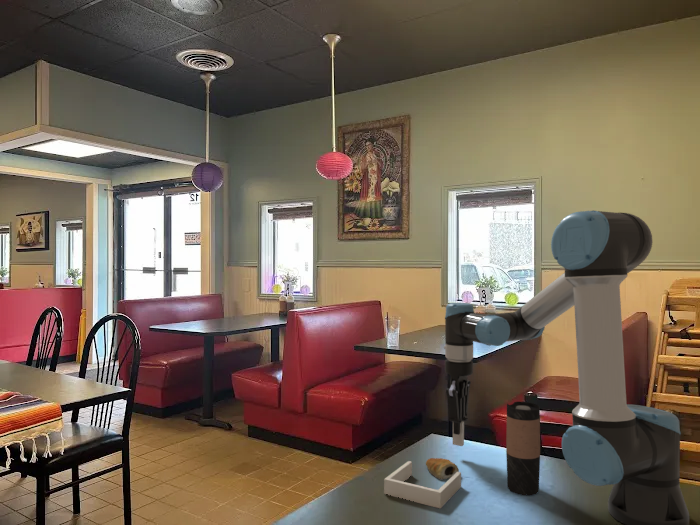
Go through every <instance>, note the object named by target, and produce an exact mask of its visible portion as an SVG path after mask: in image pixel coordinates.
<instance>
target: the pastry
mask: <svg viewBox="0 0 700 525" xmlns="http://www.w3.org/2000/svg"><path fill="white" fill-rule="evenodd" d="M425 466H426V468H427V469H428V471H429V473H430V474H431V475H432V476H433V477H435V478H436V479H438V480H447V479H448V480H449V479H450V478H451V477H452V476H453V475H454V474H455V473H456V472H460V471H459V470H460V469H459V467H458V465H456V464H455V463H454V462H452V460H449V459H446V458H439V457H436V458H435V457H431V458H428V459H427V460H426V462H425Z"/></svg>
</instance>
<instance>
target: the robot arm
mask: <svg viewBox="0 0 700 525" xmlns="http://www.w3.org/2000/svg"><path fill="white" fill-rule="evenodd" d="M550 245H551V246H550V247H551V248H550V249H551V253H552V256H553V258H554V260H556V263H557V264H558V265H560V266H561V267H562V268H563V269H564V273H562V274H561V275H559V276H558V277H557V278H556V279H555V280H553V281H552V282H550V283H549V284H548V285H547V286H546V287H545V288H543V289H541V291H539V292H538V293H537V294H536V295H534V296H533V297H532V298H531V299H529V300H528V301H527V302H525V303H524V304H523V305H522V306H520V307H519V308H518V309H516V310H515V311H513V312H501V313H478V312H475V310H474V305H473V304H472V303H469V302H450V303H448V304H446V306H445V316H444V323H445V324H444V325H445V329H444V330H445V336H444V338H445V345H443V349H444V350H445V358H446V359H445V360H444V372H445V373H446V375H449V376H450V380H449V388H446V390H445V392H446V397H447V404H448V405H447V406H448V417H449V419H448V420H449V422H452V445H453V446H457V447H463V446H464V445H465V421H466V422H467V421H468V417H467V416H468V408H469V397H470V388H471V385H472V384H471V382H472V381H471V380H469V379H468V377H470V376H471V375H473V373H474V362H473V359H474V342H475V343H479V344H483V345H486V346H489V347H490V346H493V347H499V346H503V344H505V343H506V342H513V341H516V342H517V341H530V340H533V339H536V338H537V339H538V338H539V337H541V336H542V335H543V332H544V331H545V329H546V326H548V325H549V324H550V323H551V322H553V321H554V320H556V319H557V318H559V317H560V316H561V315H563V314H564V313H566V312H567V311H569V310H570V309H571V308H572V307H574V319H575V320H574V321H575V339H576V357H577V359H576V361H577V376H578V394H579V403H578V404H577V405H576V406H575V407H574V408H573V409H572V411H571V413H572V426H569V427H568V428H567V429H566V431H565V432H564V433H563V435H562V438H561V450H562V455H563V457H564V460H565V461H566V462H565V463H567V465H568V467H569V468H570V469H572V471H573V473H574V475H576V476H577V477H578V478H579V479H580V480H582V481H584V482H585V483H587V484H589V485H593V486H597V487H598V486H600V487H602V486H608V485H612V489H611V490H610V493H609V496H608V500H607V509H608V510H607V511H608V513H609V514H610V515H611V517H613V518H614V519H615V520H616V521H618V522H620V523H622V524H623V525H690V513H689V510H688V506H687V503H686V502H685V498H684V495H683V492H682V488H681V486H680V472H681V471H680V470H681V469H680V466H681V465H680V464H681V463H680V462H681V461H680V460H681V457H680V456H681V435H682V432H681V429H680V428H681V427H680V420H679V418H678V417H677V415H676V414H673V413H672V412H670V411H667V410H664V409H660V408H659V409H658V408H655V407H651V406H645V405H639V404H629V403H628V404H627V392H626V391H627V390H626V389H627V388H626V373H625V372H626V371H625V370H626V369H625V357H624V356H625V354H624V338H623V323H622V320H623V319H622V318H623V317H622V304H621V303H622V301H621V284H622V283H623V281H625V280H626V278H628V274H629V273H630V272H632V271H633V270H635V269H637V267H638V266H640V265H641V264H642V263H643V262H644V261H645V260H646V259H647V257H649V255H650V252H651V250H652V247H653V233H652V231H651V229H650V226H648V224H647V223H646V222H645V221H644V220H643V219H642V218H640V217H638V216H636V215H635V214H633V213H628V212H611V211H600V210H583V211H582V210H580V211H576V212H572V213H570V214H567V215H566V216H564V217H563V219H561V220H560V222H559V223H558V225H556V227H555V229H554V230H553V232H552V236H551V244H550Z"/></svg>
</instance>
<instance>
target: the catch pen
mask: <svg viewBox="0 0 700 525" xmlns="http://www.w3.org/2000/svg"><path fill="white" fill-rule="evenodd" d="M410 476H411V477H412V476H413V462H412V461H410V460H408V461H406V462H405V463H404V464H402V465H401V466H400V467H398V468H397V469H395V470H394V471H393V472H392V473H390V474H389V475H388V476H386V477H385V478H384V479H383V483H384V484H383V488H384V489H383V494H384V495H386V494H388V495H387V496H390V495H391V497H394V498H398V497H399V499H402V498H403V500H405V499H406V501H409V500H410V502H413V501H414V503H418V504H422V505H425V506H429V507H432V508H433V507H434V508H436V509H442V508H443V507H444V506H445V505H446V503H447V502H449V500H450V499H451V498H452V497H453V496H455V494H456V493H457V492H458V490H460V489H461V488H462V472H461V471H459V472H456V473H455V474H454V475H453V476H452V477H450V478H448V480H447V481H446V482H444V484H442V486H440V487H439V488H438V489H436V488H430V487H426V486H422V485H419V484H414V483H410V482H406V481H407V480H408V479H410V478H411V477H410ZM409 477H410V478H409ZM405 480H406V481H405ZM404 481H405V482H404Z"/></svg>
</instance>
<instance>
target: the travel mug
mask: <svg viewBox="0 0 700 525" xmlns="http://www.w3.org/2000/svg"><path fill="white" fill-rule="evenodd" d="M540 418H541V408H540V405H538V404H536V403H533V402H529V401H528V402H527V401H514V402H513V403H511V404H509V403H507V404H506V436H505V437H506V438H505V440H506V445H505V446H506V448H505V449H506V450H505V451H506V454H505V455H506V483H507V489H508V490H509V492H511V493H513V494H516V495H520V496H526V497H527V496H535V495H537V494H538V493H539V490H540V468H541V465H540V464H541V426H540V425H541V424H540V423H541V422H540V421H541V420H540Z"/></svg>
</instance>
